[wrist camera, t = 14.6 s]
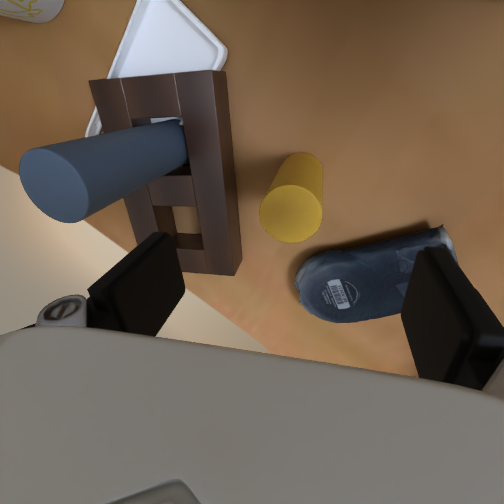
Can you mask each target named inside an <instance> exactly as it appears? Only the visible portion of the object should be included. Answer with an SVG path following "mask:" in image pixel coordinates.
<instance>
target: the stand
mask: <svg viewBox="0 0 504 504" xmlns="http://www.w3.org/2000/svg"><path fill="white" fill-rule="evenodd" d="M89 85H90V88H91V91H92V95H93V98H94V101H95V105H96V108H97V111H98V115H99V118H100V121H101V125H102V128H103V131H104V133H109V132H114V131H119V130H124V129H128V128H133V127H138V126H143V125H147V124H151V119H150V118H167V117H182V120H183V126H184V132H185V138H186V144H187V150H188V156H189V162H190V166H180V167H178V168H176V169H174V170H172V171H171V172H169V173H167V174H165V175H163V176H161V177H160V178H158V179H156V180H154V181H152V182H150V183H149V184H147V185H145V186H143V187H141V188H139V189H138V190H136V191H134V192H132V193H130V194H129V195H127V196H125V197H123V198H124V201H125V204H126V208H127V211H128V214H129V218H130V221H131V224H132V228H133V231H134V234H135V238H136V241H137V244H138V245H139V244H140V243H141V242H143V241H144V240H145V239H146V238H147V237H148V236H149V235H151V234H152V233H153V232H168V233H169V234H170V236H172V237H173V238H174V241H175V245H176V250H177V254H178V258H179V262H180V267H181V271H182V272H190V273H203V274H215V275H227V276H235V274H236V272H237V270H238V267H239V265H240V263H241V261H242V248H241V237H240V226H239V214H238V203H237V192H236V181H235V170H234V159H233V148H232V136H231V125H230V114H229V103H228V92H227V81H226V72H224V71H217V70H200V71H189V72H178V73H167V74H156V75H145V76H134V77H123V78H111V79H100V80H89ZM171 206H193V207H196V206H197V210H198V216H199V222H200V228H201V234H202V235H199V234H179V233H178V234H177V231H176V226H175V221H174V217H173V212H172V207H171Z"/></svg>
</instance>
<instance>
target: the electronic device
mask: <svg viewBox="0 0 504 504" xmlns="http://www.w3.org/2000/svg"><path fill="white" fill-rule="evenodd" d="M426 246H428V247H445V248H447V250H448V251H449V252H450V254H451V255H452V257H453V258H454V260H455V261H456V263H457V264H458V262H457V258H456V254H455V251H454V247H453V244H452V242H451V239H450V238H449V237H448V235H447V231H446V230H445V229H444V228H443V225H441V226H439V227H437V228H432V229H428V230H424V231H420V232H416V233H412V234H408V235H403V236H399V237H396V238H391V239H387V240H382V241H378V242H375V243H370V244H366V245H363V246H359V247H355V248H350V249H338V250H335V249H332V250H329V251H323V252H320V253H318V254H315V255H313V256H312V257H310V258H309V259H307V260H306V261H305V262H304V263H303V264H302V266H301V267H300V269H299V270H298V272H297V274H296V278H295V283H294V284H295V286H296V288H297V290H298V292H299V293H300V303H301V304H302V305H303V307H304V308H305V309H306V310H307V311H308V312H309V313H310V314H313V315H315V316H317V317H318V318H321V319H323V320H326V321H330V322H335V323H351V322H358V321H364V320H369V319H376V318H381V317H385V316H390V315H394V314H398V313H401V308H402V304H403V301H404V297H405V294H406V290H407V287H408V283H409V280H410V276H411V273H412V269H413V265H414V262H415V258H416V255H417V252H418V251H419V250H423V249H424V248H425V247H426Z"/></svg>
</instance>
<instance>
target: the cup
mask: <svg viewBox="0 0 504 504" xmlns="http://www.w3.org/2000/svg"><path fill="white" fill-rule="evenodd" d="M64 1H65V0H0V15H1V16H5V17H10V18H14V19H19V20H23V21H28V22H32V23H46V22H48V21H50V20H52V19H53V18H55V17H56V16H57V15H58V13H59V12H60V10H61V8H62V6H63V4H64Z"/></svg>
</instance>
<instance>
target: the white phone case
mask: <svg viewBox="0 0 504 504" xmlns="http://www.w3.org/2000/svg"><path fill="white" fill-rule="evenodd" d="M227 56H228V49H227V47H226V46H225V45H224V44H223V43H222V42H221V41H220V40H219V39H218V38H217V37H216V36H215V35H214V34H213V33H212V32H211V31H210V30H209V29H208V28H207V27H206V26H205V25H204V24H203V23H202V22H201V21H200V20H199V19H198V18H197V17H196V16H195V15H194V14H193V13H192V12H191V11H190V10H189V9H188V8H187V7H186V6H185V5H184V4H183V3H182V2H181V1H180V0H137V3H136V5H135V8H134V10H133V13H132V15H131V18H130V20H129V23H128V25H127V28H126V31H125V33H124V36H123V38H122V41H121V43H120V46H119V48H118V51H117V53H116V56H115V59H114V61H113V64H112V66H111V69H110V71H109V74H108V76H107V79H111V78H123V77H134V76H145V75H156V74H167V73H178V72H189V71H200V70H217V71H221V69H222V67H223V66H224V64H225V62H226V59H227ZM150 119H151V124H152V123H157V122H162V121H166V120H171V119H177V120H181V121H180V123H179V124H180V125H182V126H183V120H182V117H167V118H150ZM101 128H102V125H101V121H100V118H99V115H98V111H97V108H96V107H95V110H94V112H93V115H92V117H91V120H90V122H89V125H88V127H87V130H86V134H85V137H90V136H95V135H99V133H100V130H101Z"/></svg>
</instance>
